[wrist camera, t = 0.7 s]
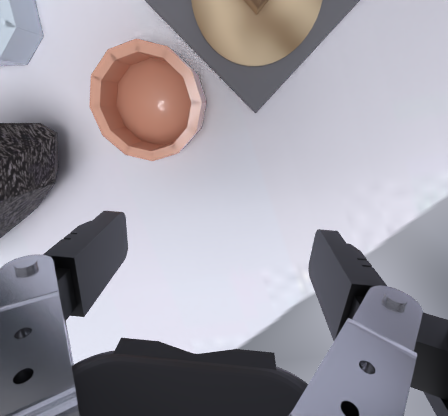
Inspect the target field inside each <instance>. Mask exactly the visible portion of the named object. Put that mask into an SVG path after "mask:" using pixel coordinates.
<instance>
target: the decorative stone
mask: <svg viewBox="0 0 448 416" xmlns="http://www.w3.org/2000/svg"><path fill="white" fill-rule="evenodd" d="M57 171H58V146H57V133H56V132H55V131H53V130H51V129H49V128H48V127H46V126H44V125H43V124H41V123H0V238H1V237H2V236H3V235H5V234H6V233H7V232H8V231H10V230H11V229H12V228H13V227H14V226H16V225H17V224H18V223H19V222H21V221H22V220H23V219H24V218H25V217H27V216H28V215H29V214H30V213H32V212H33V211H34V210H35V209H36V208H37V207H38V206H39V204H40V203H41V202H42V200H43V199H44V198H45V196H46V195H47V193H48V192H49V191H50V189H51V188H52V187H53V185H54V184H55V180H56V175H57Z"/></svg>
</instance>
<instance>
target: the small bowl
mask: <svg viewBox="0 0 448 416" xmlns="http://www.w3.org/2000/svg"><path fill="white" fill-rule="evenodd" d="M42 38H43V32H42V28H41V24H40V20H39V15H38V11H37V7H36V3H35V0H0V66H7V65H27V64H28V63H29V61H30V59H31V57H32V56H33V54H34V52H35V50H36V49H37V47H38V45H39V43H40V42H41V40H42Z"/></svg>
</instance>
